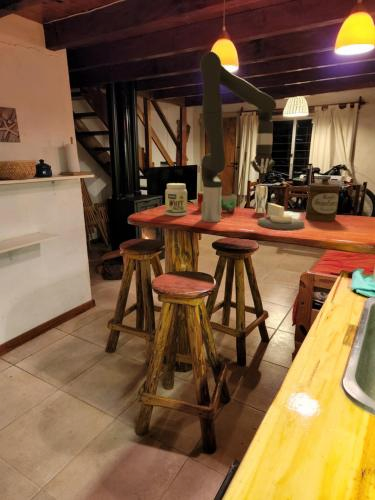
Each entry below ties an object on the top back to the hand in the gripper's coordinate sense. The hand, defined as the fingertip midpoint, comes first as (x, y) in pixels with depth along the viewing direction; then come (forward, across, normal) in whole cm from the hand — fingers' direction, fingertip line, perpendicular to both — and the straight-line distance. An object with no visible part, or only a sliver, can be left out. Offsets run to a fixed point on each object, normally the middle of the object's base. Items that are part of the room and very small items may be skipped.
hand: (261, 180), depth 157 cm
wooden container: (+21, +35, -3) cm, 41 cm away
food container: (+21, -5, +26) cm, 33 cm away
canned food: (+21, -18, +36) cm, 45 cm away
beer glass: (+21, +12, +21) cm, 32 cm away
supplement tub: (+21, -37, +28) cm, 50 cm away
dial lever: (+19, +7, -5) cm, 21 cm away
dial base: (+20, +7, -10) cm, 24 cm away
